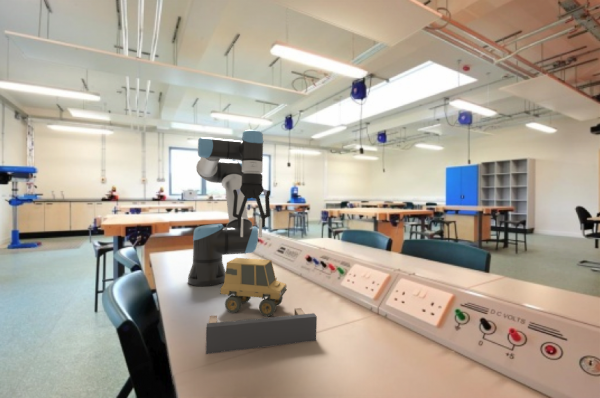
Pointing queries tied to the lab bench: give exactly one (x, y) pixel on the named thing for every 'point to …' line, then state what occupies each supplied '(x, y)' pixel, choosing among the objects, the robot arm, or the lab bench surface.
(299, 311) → the bay kerbs
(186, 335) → the lab bench surface
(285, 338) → the wall
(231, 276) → the toy car
